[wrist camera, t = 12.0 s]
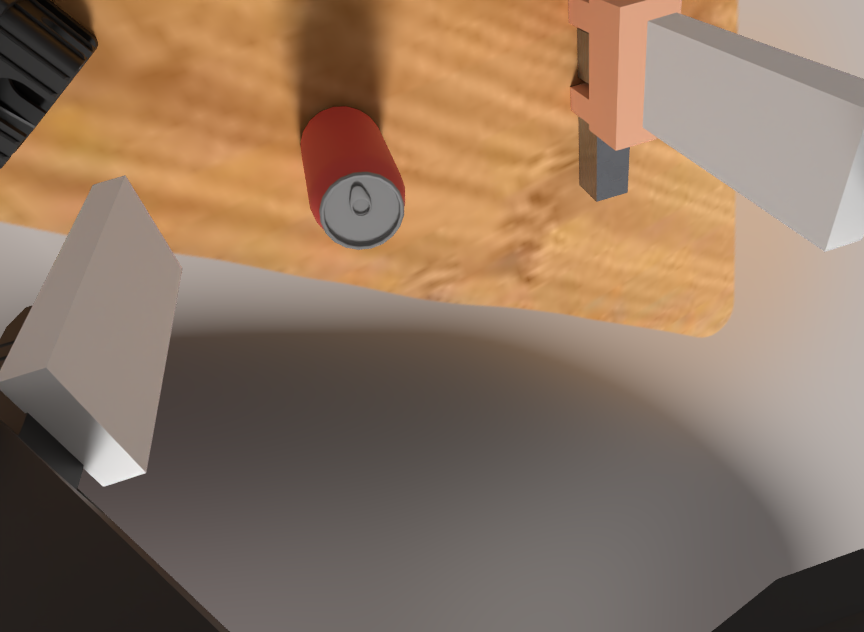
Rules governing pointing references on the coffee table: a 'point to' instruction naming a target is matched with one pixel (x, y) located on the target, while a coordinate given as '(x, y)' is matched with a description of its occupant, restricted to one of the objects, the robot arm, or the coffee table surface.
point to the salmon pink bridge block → (616, 66)
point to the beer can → (351, 178)
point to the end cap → (35, 65)
